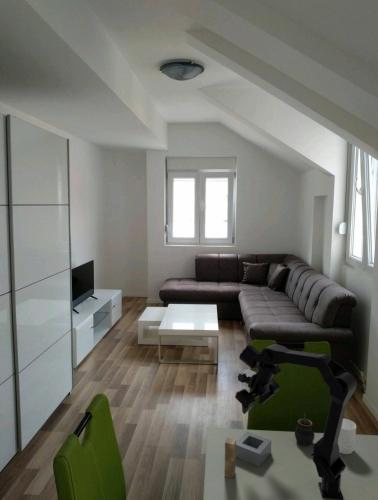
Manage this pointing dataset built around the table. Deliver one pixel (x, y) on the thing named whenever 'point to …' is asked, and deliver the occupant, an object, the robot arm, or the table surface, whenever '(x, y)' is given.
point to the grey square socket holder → (253, 448)
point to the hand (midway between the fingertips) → (251, 408)
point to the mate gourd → (304, 431)
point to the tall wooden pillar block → (230, 457)
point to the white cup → (347, 437)
